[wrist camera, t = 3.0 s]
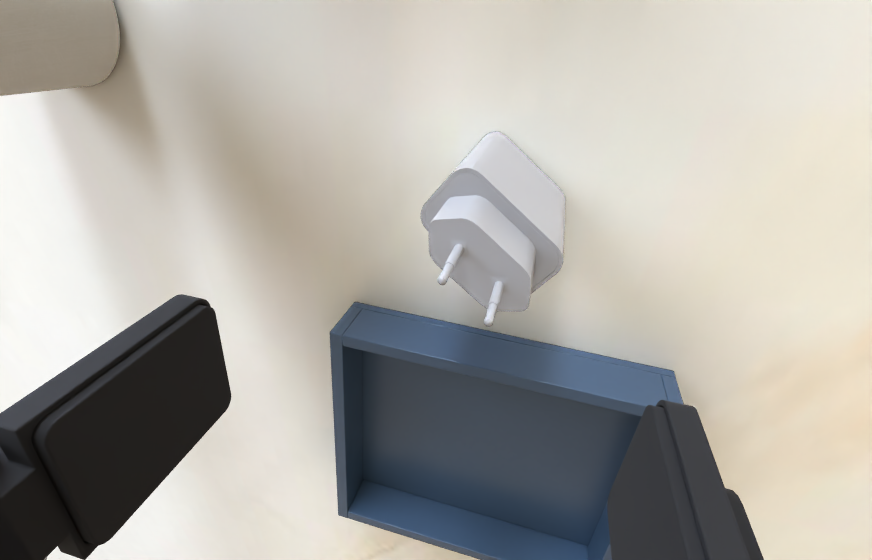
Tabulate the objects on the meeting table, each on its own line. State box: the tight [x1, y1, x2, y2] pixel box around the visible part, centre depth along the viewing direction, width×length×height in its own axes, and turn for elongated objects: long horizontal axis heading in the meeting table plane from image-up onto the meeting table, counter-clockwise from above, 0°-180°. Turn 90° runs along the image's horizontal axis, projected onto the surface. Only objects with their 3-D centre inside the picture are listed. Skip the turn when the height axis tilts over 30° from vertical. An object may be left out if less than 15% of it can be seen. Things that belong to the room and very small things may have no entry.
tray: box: [330, 302, 683, 560], centre depth 30 cm, size 20×18×4 cm
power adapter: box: [421, 131, 566, 327], centre depth 18 cm, size 3×5×12 cm, turn 49°
